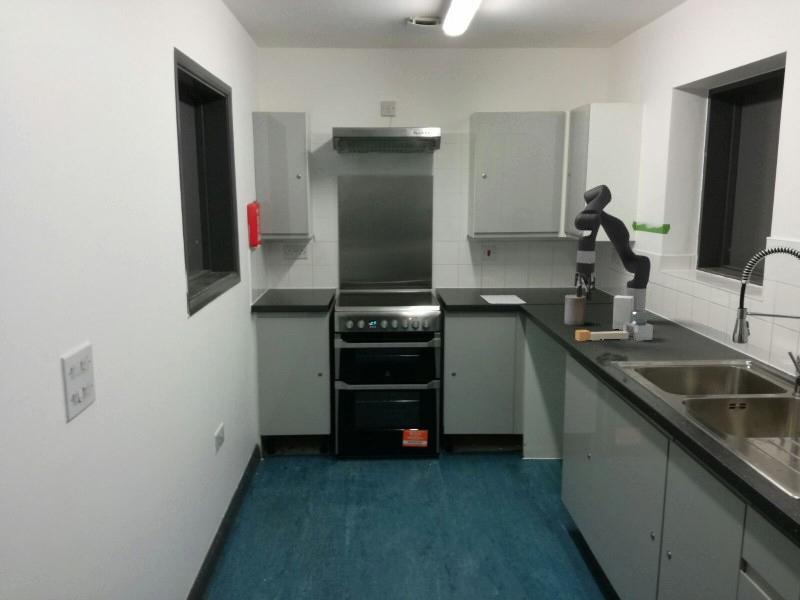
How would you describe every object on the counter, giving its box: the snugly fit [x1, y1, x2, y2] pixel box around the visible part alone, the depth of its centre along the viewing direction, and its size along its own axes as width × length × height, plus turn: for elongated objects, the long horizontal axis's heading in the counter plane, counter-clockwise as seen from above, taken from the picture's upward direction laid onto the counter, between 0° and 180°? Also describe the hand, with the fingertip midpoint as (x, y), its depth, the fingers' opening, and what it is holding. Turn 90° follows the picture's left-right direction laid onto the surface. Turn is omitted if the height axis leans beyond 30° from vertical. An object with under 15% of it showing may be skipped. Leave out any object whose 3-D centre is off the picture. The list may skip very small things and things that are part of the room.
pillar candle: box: [563, 294, 587, 327], centre depth 291 cm, size 10×10×15 cm
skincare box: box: [612, 294, 634, 331], centre depth 278 cm, size 8×7×16 cm
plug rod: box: [574, 329, 630, 342], centre depth 260 cm, size 4×23×4 cm, turn 99°
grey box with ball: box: [622, 310, 654, 342], centre depth 262 cm, size 12×7×12 cm, turn 9°
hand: (583, 298), depth 256 cm, fingers open, 8 cm apart
